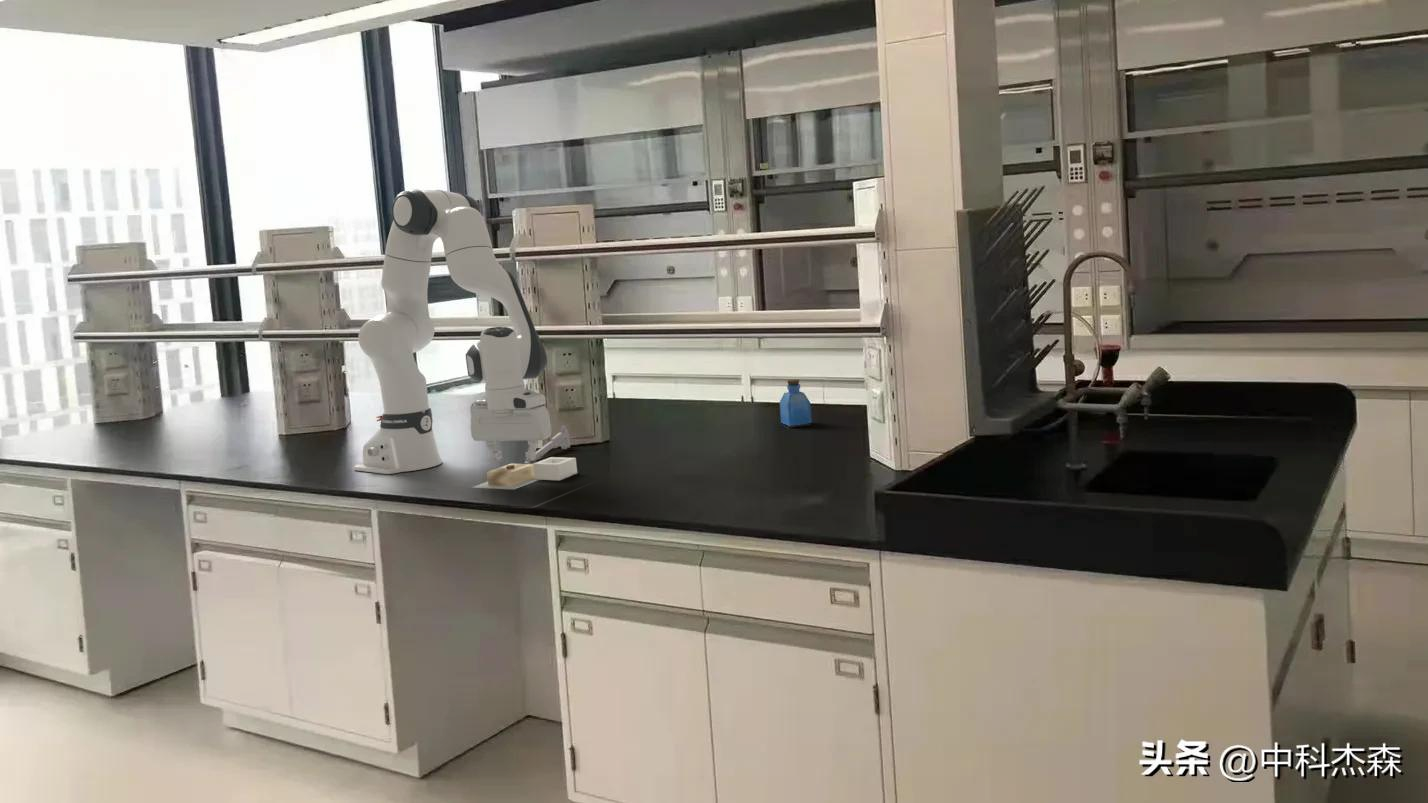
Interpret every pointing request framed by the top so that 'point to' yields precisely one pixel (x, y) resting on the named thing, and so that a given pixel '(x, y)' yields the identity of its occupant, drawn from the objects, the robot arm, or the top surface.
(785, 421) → the perfume bottle
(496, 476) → the lid
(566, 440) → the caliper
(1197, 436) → the top surface
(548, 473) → the dish
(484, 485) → the mat
